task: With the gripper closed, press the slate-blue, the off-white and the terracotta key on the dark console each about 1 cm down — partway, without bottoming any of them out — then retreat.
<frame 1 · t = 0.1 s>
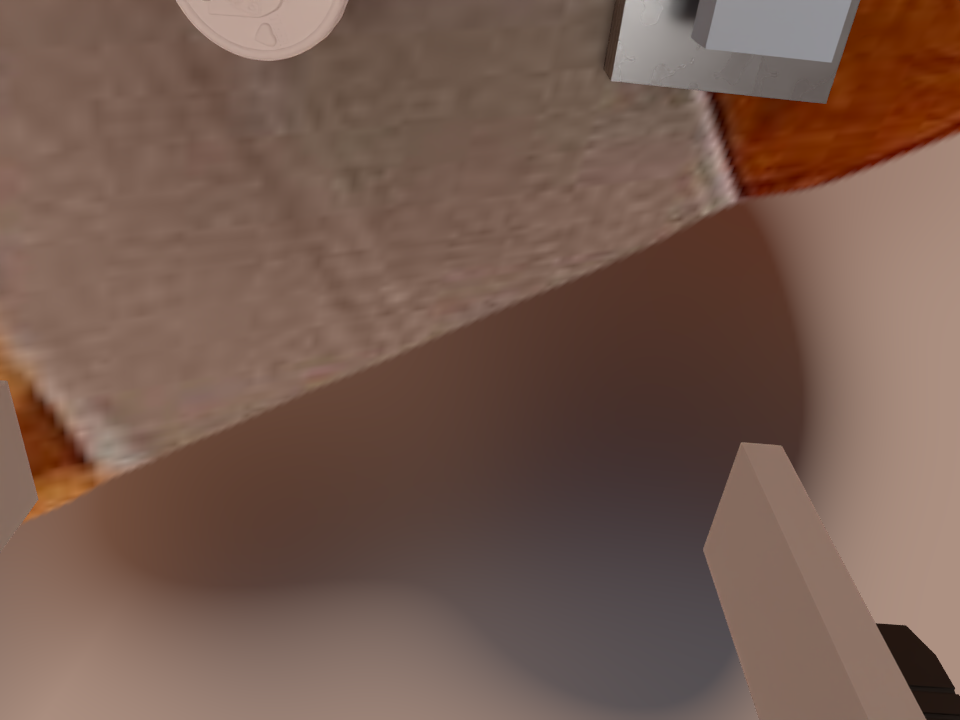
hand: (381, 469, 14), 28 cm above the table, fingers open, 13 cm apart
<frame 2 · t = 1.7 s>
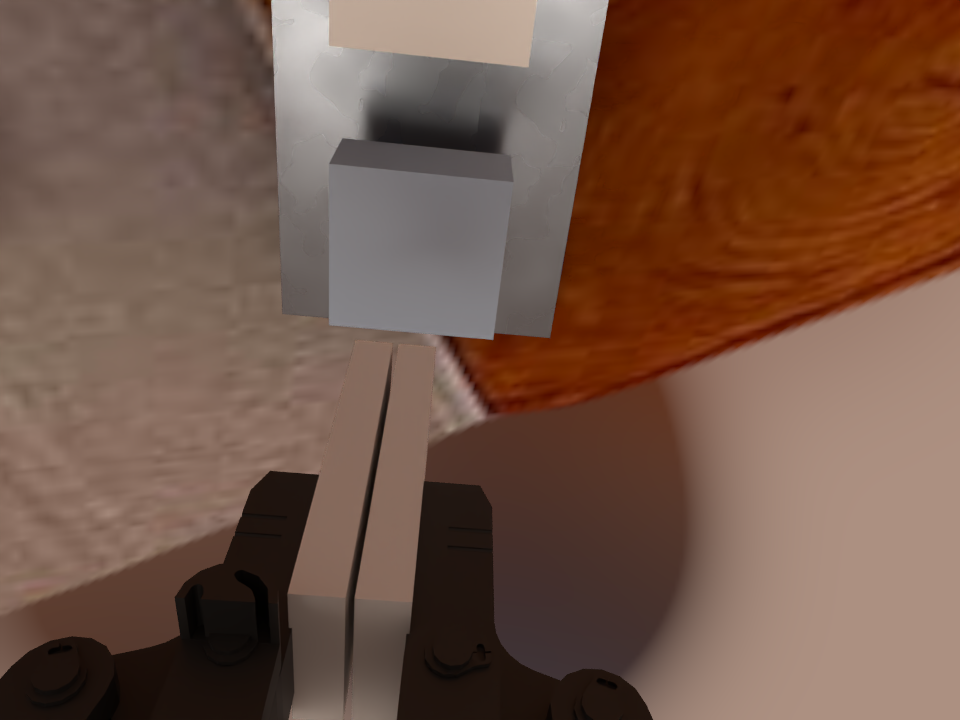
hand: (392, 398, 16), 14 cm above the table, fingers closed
blue key: (421, 224, 24), point 5 cm above the table, slide at 0.0 cm
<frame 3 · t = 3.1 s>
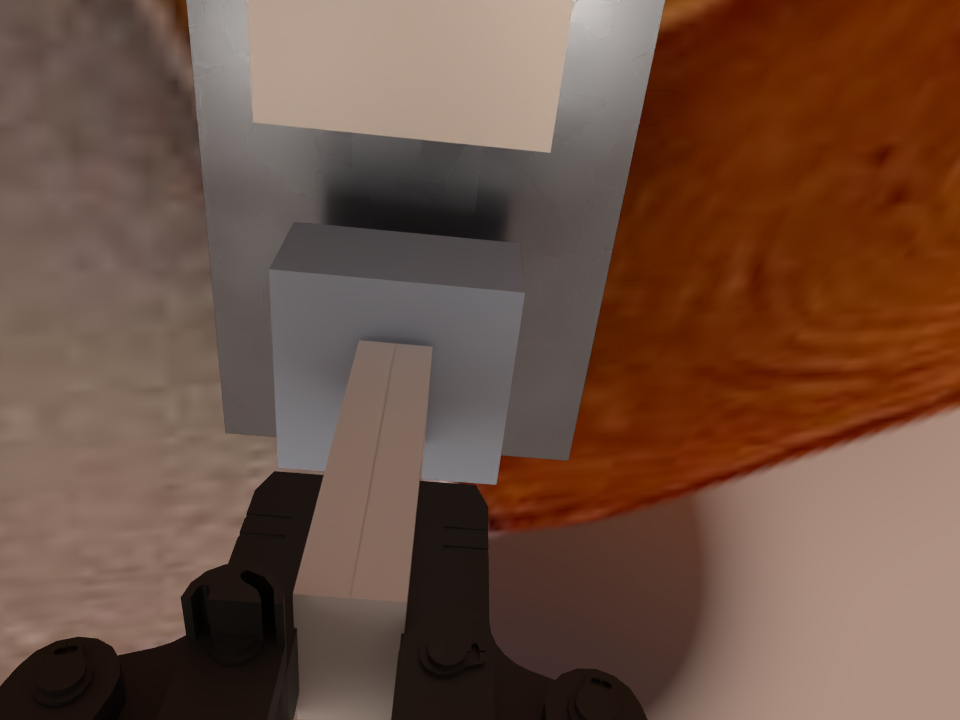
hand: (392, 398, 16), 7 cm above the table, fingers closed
blue key: (402, 327, 19), point 4 cm above the table, slide at 0.6 cm, touching gripper
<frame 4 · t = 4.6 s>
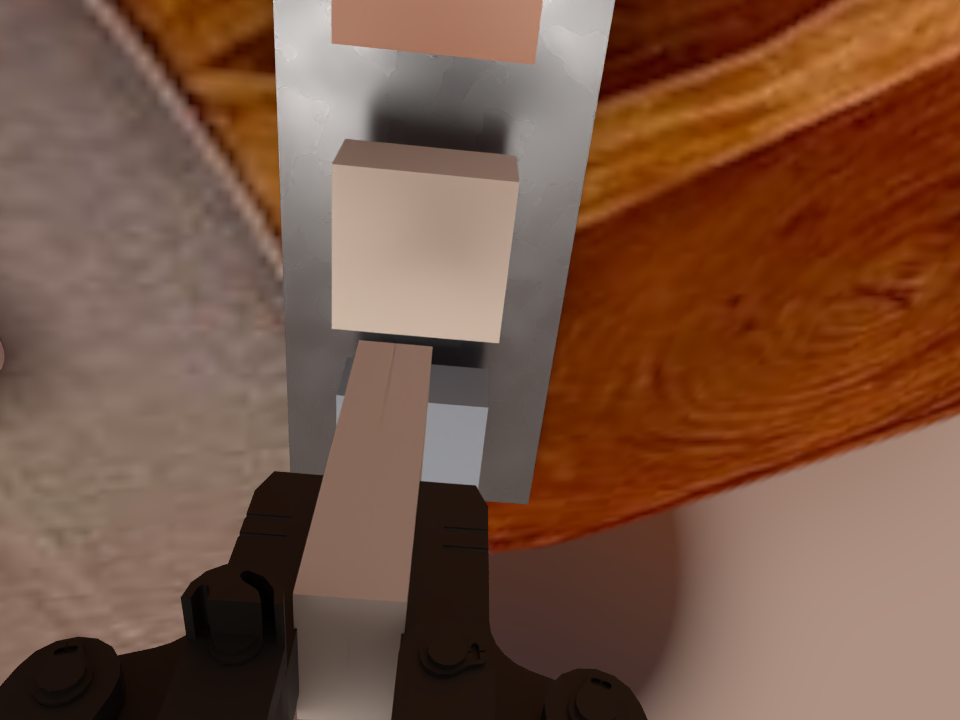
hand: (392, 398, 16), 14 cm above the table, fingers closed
white key: (426, 226, 24), point 5 cm above the table, slide at 0.0 cm
blue key: (414, 418, 29), point 4 cm above the table, slide at 0.9 cm
console: (434, 176, 28), on the table
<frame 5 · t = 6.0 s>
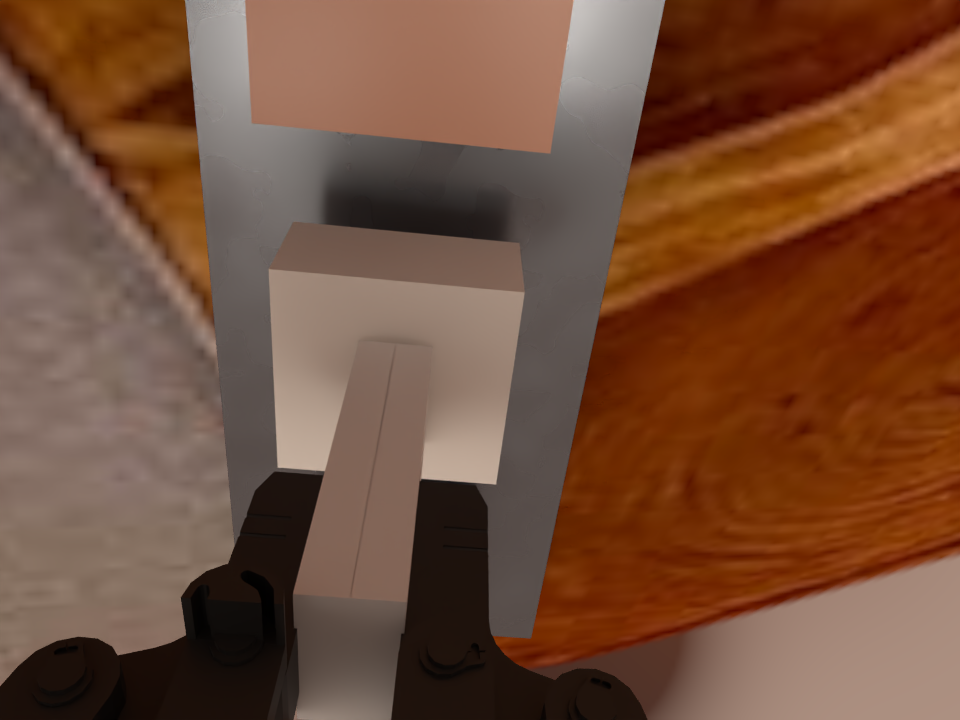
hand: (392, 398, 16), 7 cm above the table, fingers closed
white key: (402, 327, 19), point 4 cm above the table, slide at 0.7 cm, touching gripper
console: (414, 255, 22), on the table
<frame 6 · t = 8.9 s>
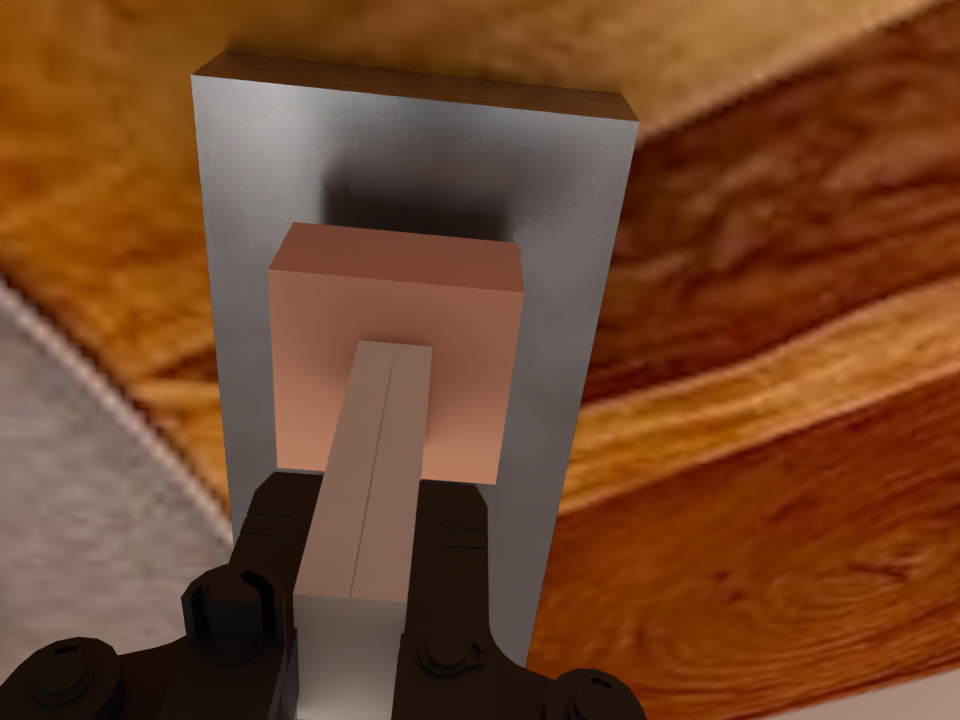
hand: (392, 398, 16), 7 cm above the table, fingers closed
blue key: (379, 719, 27), point 4 cm above the table, slide at 0.9 cm
terracotta key: (401, 327, 19), point 4 cm above the table, slide at 0.7 cm
console: (400, 471, 26), on the table
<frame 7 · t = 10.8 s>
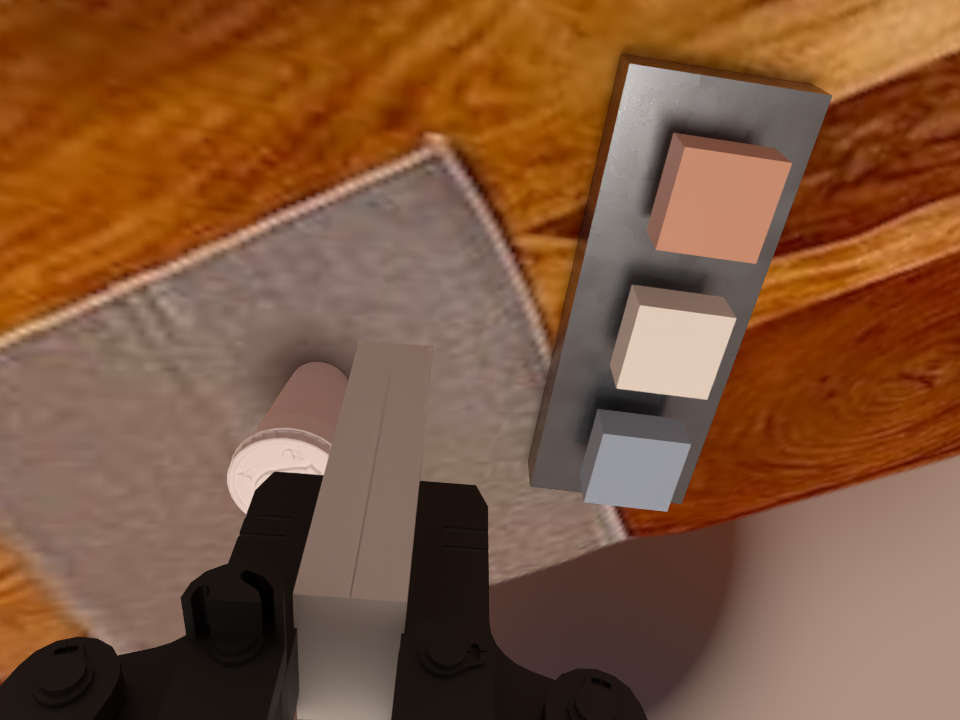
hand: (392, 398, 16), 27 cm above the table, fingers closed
white key: (664, 330, 42), point 4 cm above the table, slide at 0.9 cm
blue key: (629, 447, 46), point 4 cm above the table, slide at 0.9 cm
smoothie: (320, 384, 49), on the table
terracotta key: (708, 190, 38), point 4 cm above the table, slide at 0.9 cm
console: (651, 299, 46), on the table
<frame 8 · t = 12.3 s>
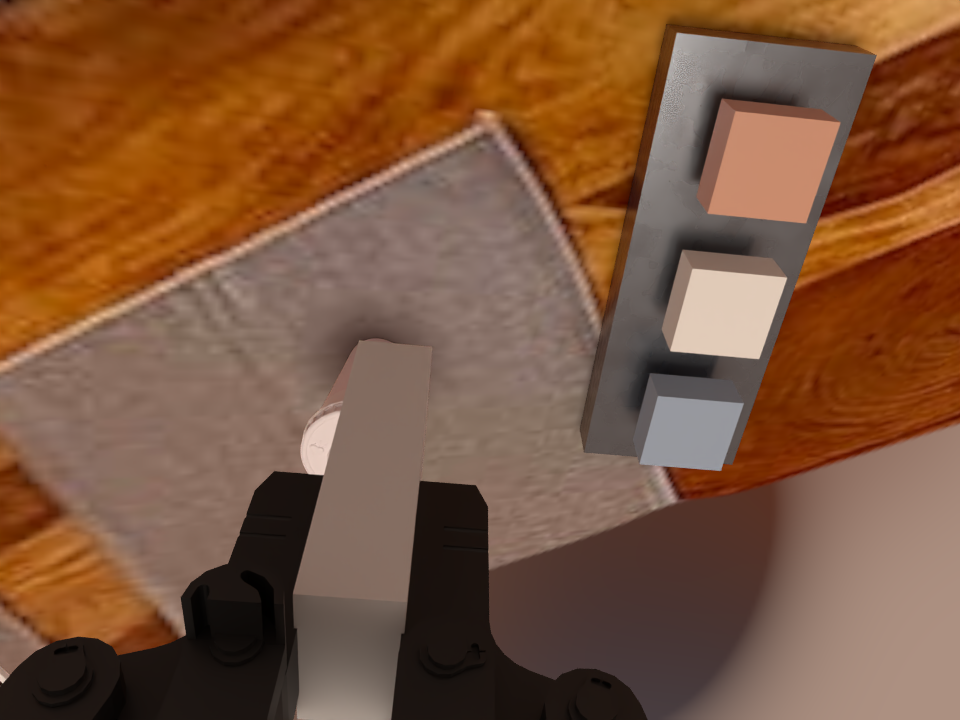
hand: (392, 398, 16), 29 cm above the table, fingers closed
white key: (715, 294, 44), point 4 cm above the table, slide at 0.9 cm
blue key: (681, 409, 48), point 4 cm above the table, slide at 0.9 cm
smoothie: (378, 361, 51), on the table
terracotta key: (756, 153, 39), point 4 cm above the table, slide at 0.9 cm
console: (698, 264, 47), on the table
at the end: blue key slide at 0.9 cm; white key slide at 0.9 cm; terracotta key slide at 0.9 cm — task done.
